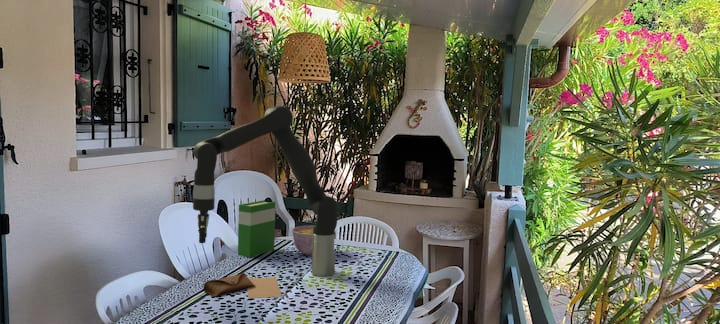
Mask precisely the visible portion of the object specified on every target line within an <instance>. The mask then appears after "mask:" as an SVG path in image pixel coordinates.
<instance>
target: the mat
mask: <svg viewBox="0 0 720 324" xmlns="http://www.w3.org/2000/svg"><path fill="white" fill-rule="evenodd" d="M249 280H250V281H251V282H252V283H253V284H254V285H255V286H252V287H250V288H246V292H247V298H248V299H249V300H250V299H263V298H279V297H281V298H282V297H283V295H282V293H281V290H280V289H281V288H280V286H279V283H278V280H277V278H276V277H261V278H259V277H258V278H257V277H256V278H249Z"/></svg>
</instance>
